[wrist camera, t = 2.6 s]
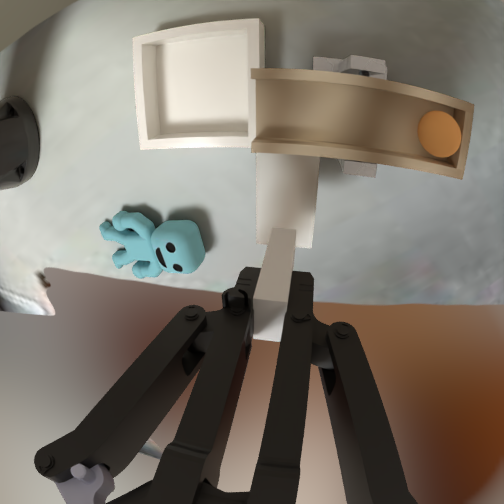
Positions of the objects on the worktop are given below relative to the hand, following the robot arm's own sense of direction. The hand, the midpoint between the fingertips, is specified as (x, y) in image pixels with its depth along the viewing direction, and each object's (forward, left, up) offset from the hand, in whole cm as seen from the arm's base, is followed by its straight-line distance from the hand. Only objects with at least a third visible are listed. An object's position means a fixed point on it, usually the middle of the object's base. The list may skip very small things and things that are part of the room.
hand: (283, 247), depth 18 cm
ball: (+10, +8, -3) cm, 13 cm away
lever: (+5, +4, -5) cm, 8 cm away
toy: (-17, -9, -13) cm, 24 cm away
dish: (-9, +10, -13) cm, 19 cm away
